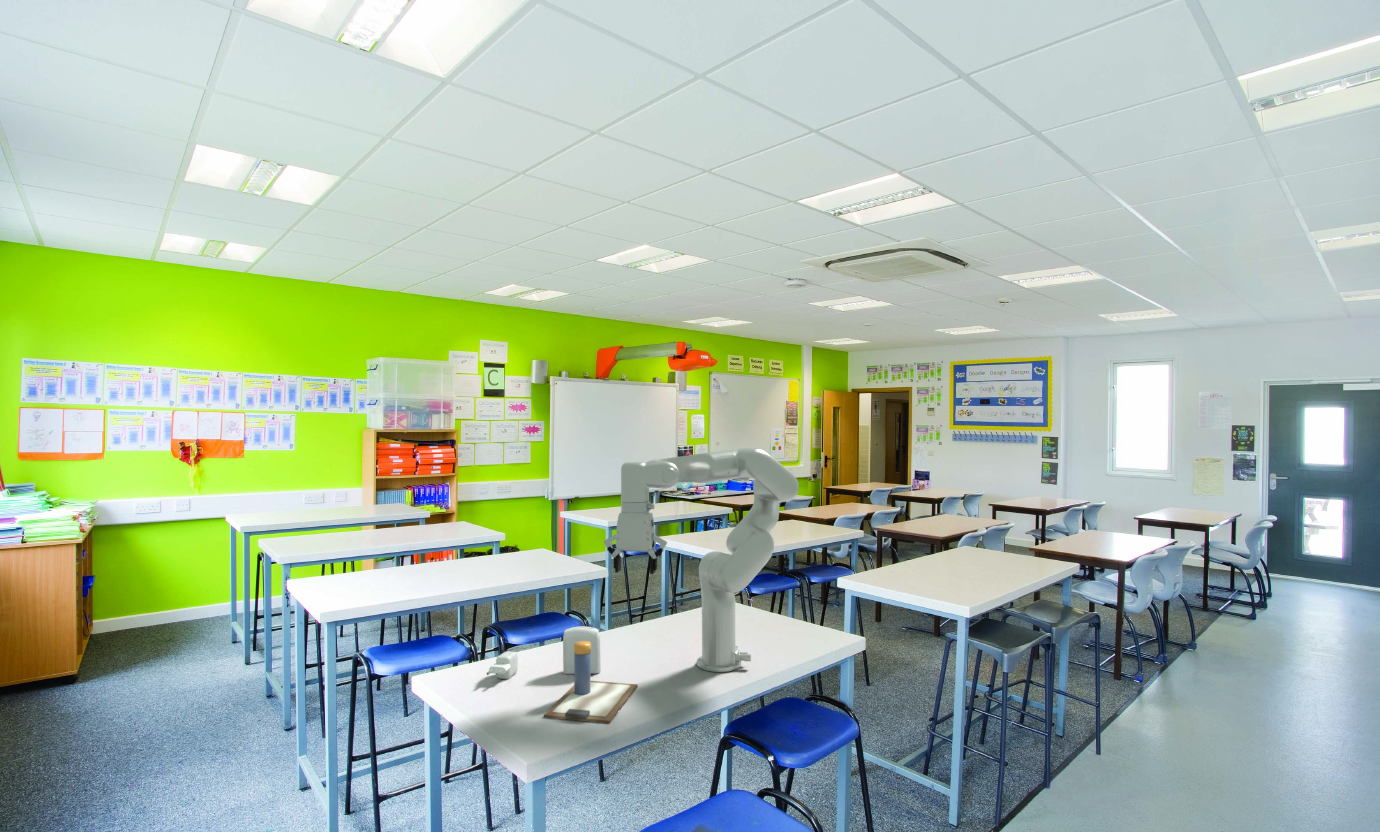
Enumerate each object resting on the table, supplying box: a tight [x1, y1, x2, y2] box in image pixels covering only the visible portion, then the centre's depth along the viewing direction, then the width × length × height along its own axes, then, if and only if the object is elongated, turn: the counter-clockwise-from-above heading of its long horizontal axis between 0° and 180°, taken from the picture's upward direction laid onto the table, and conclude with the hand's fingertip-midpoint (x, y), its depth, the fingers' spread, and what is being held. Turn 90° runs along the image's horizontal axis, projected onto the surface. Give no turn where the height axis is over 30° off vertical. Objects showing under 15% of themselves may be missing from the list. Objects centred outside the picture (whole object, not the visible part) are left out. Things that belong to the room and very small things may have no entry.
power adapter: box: [486, 650, 519, 680], centre depth 175 cm, size 11×5×6 cm, turn 168°
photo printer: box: [562, 625, 602, 675], centre depth 180 cm, size 10×4×12 cm, turn 89°
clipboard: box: [543, 680, 638, 724], centre depth 160 cm, size 16×22×2 cm
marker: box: [573, 641, 592, 695], centre depth 164 cm, size 4×4×12 cm
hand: (635, 572), depth 175 cm, fingers open, 9 cm apart
